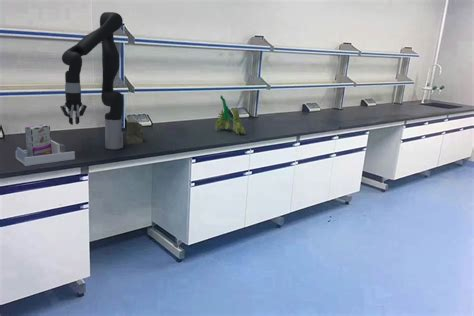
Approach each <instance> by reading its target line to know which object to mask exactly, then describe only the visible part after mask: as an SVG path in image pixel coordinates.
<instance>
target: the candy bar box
mask: <svg viewBox="0 0 474 316" xmlns="http://www.w3.org/2000/svg"><path fill="white" fill-rule="evenodd" d="M24 131H25V134H24V135H25V143H26V145H25V146H26V150H27V157H33V156H41V155H49V154H52V149H51V140H52V138H51V126H50V124H46V123H45V124H44V123H43V124H37V125H32V126H27V127H24Z"/></svg>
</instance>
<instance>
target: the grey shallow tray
mask: <svg viewBox="0 0 474 316" xmlns="http://www.w3.org/2000/svg"><path fill="white" fill-rule="evenodd" d="M75 153H76V151H65V153H57V154H49V155H41V156H33V157H27V149H22V148H21V147H18V146H17V147H16V150H15V159H16V160H17V161H18V162H20V163H21V164H23V166H25V167H29V166H34V165H35V166H36V165H42V164H52V163H57V162H65V161H72V160H76V154H75Z"/></svg>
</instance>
